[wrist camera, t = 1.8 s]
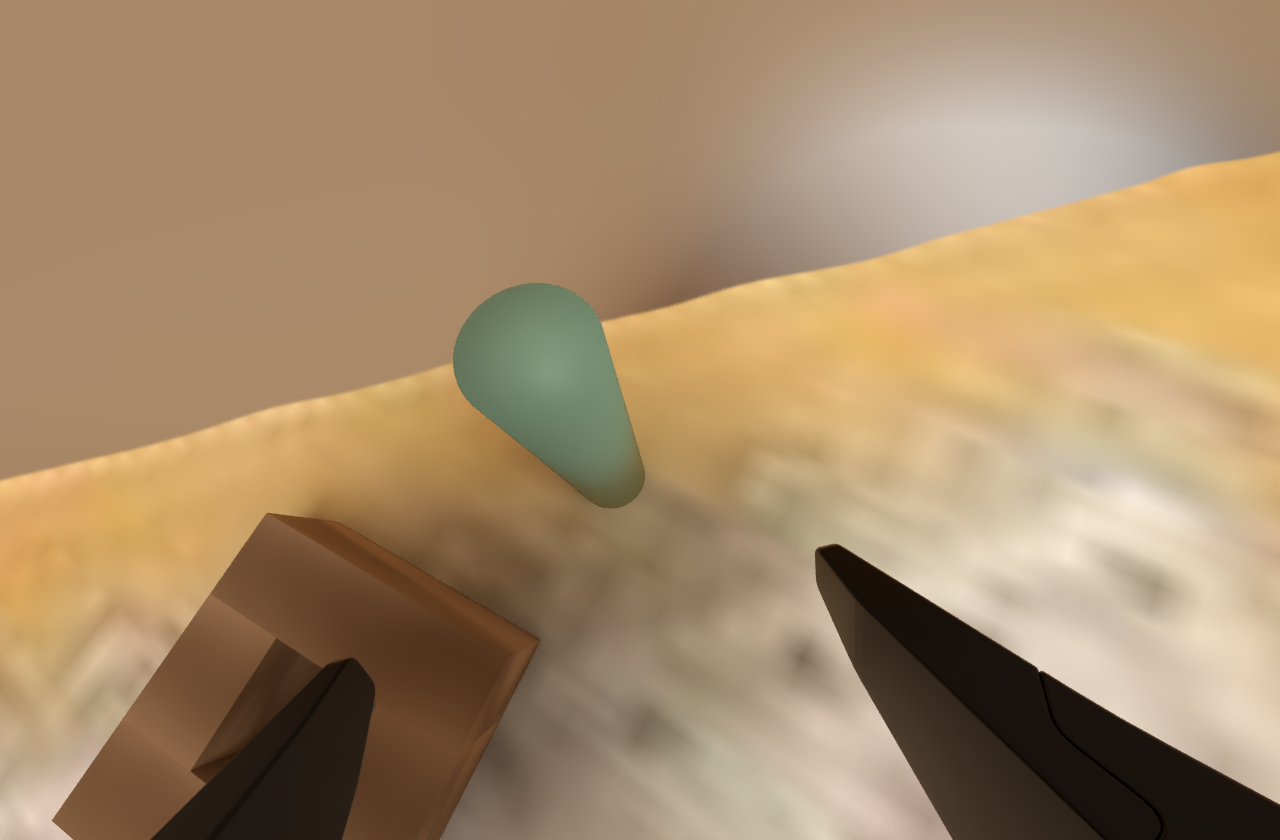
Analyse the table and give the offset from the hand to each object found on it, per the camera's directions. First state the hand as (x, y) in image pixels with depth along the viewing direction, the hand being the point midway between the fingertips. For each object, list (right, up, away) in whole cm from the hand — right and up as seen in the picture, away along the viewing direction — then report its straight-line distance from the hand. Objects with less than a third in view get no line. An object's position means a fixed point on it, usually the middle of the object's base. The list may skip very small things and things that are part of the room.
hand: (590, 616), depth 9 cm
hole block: (-11, -8, +10) cm, 17 cm away
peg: (0, +1, +13) cm, 13 cm away
